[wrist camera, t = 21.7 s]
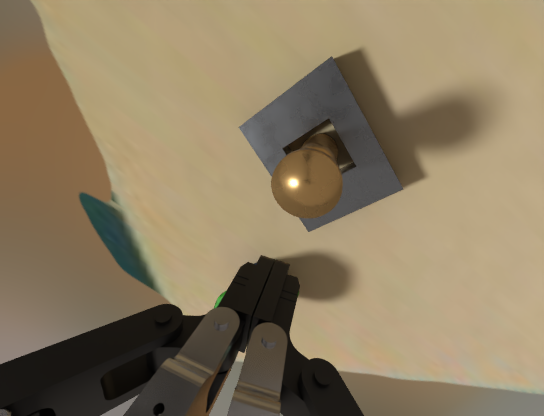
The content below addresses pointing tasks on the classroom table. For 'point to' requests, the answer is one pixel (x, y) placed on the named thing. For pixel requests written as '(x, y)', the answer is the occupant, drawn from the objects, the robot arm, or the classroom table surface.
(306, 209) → the brass flanged peg
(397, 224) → the classroom table surface
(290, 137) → the plate
